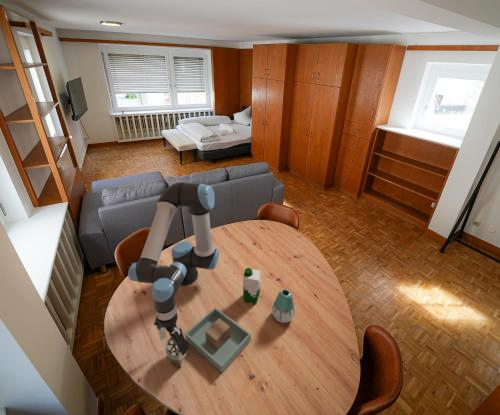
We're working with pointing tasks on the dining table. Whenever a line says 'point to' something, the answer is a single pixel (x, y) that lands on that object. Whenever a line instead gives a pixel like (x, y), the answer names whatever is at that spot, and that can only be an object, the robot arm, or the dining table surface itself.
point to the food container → (173, 352)
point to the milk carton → (251, 285)
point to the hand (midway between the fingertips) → (172, 347)
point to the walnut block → (217, 334)
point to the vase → (283, 307)
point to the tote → (227, 350)
